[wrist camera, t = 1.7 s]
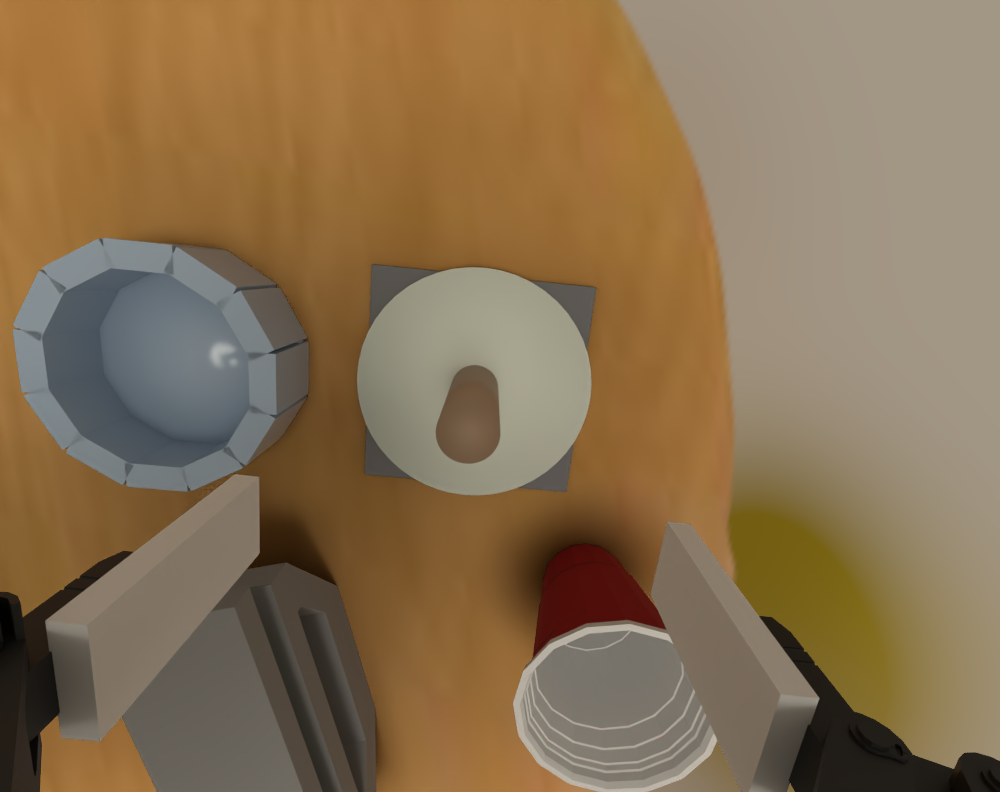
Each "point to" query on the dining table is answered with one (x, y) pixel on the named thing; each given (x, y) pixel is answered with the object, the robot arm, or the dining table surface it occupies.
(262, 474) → the dining table surface
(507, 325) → the lid
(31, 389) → the bowl
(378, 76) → the dining table surface
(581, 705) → the plastic cup
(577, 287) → the mat
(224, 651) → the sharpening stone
